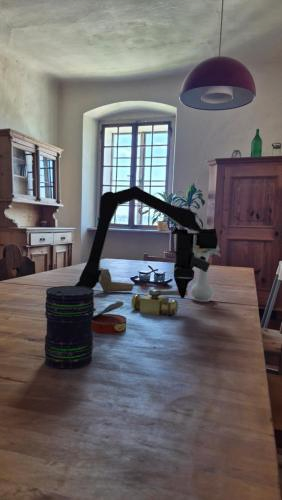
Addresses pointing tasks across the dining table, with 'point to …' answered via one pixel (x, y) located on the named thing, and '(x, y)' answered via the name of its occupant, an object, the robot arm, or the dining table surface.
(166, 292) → the lever
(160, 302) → the valve
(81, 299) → the storage jar
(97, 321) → the canned food
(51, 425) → the dining table surface
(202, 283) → the flower vase
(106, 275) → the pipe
